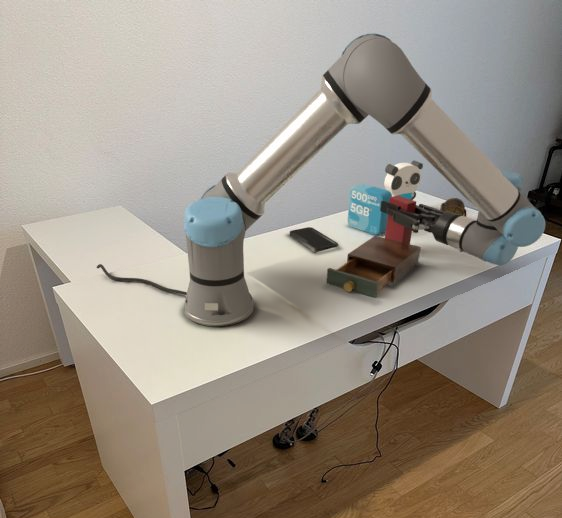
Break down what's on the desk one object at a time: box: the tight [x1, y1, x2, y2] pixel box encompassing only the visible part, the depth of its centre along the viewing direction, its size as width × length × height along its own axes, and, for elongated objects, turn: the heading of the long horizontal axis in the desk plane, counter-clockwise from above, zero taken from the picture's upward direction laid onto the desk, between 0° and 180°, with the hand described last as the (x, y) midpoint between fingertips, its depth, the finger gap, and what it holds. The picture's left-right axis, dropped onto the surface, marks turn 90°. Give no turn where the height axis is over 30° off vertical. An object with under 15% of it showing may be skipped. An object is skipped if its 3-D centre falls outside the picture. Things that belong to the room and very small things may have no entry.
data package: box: [347, 183, 392, 236], centre depth 159 cm, size 12×4×12 cm, turn 45°
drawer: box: [326, 258, 394, 299], centre depth 130 cm, size 17×13×5 cm
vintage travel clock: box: [439, 197, 467, 217], centre depth 163 cm, size 7×13×10 cm
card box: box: [384, 195, 417, 244], centre depth 144 cm, size 6×3×13 cm, turn 35°
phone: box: [289, 226, 339, 254], centre depth 153 cm, size 8×1×15 cm
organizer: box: [346, 235, 422, 283], centre depth 137 cm, size 15×13×5 cm
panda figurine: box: [383, 160, 424, 201], centre depth 171 cm, size 12×11×15 cm
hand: (386, 204), depth 146 cm, fingers closed on card box, 3 cm apart
